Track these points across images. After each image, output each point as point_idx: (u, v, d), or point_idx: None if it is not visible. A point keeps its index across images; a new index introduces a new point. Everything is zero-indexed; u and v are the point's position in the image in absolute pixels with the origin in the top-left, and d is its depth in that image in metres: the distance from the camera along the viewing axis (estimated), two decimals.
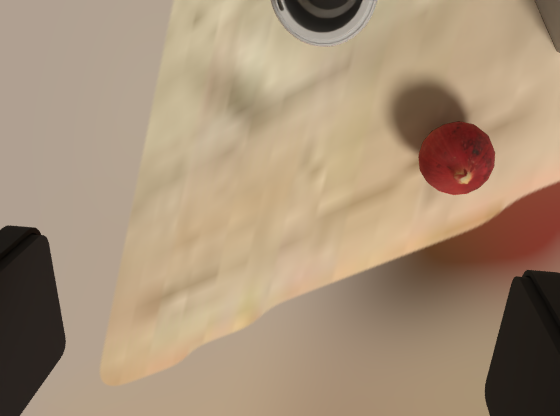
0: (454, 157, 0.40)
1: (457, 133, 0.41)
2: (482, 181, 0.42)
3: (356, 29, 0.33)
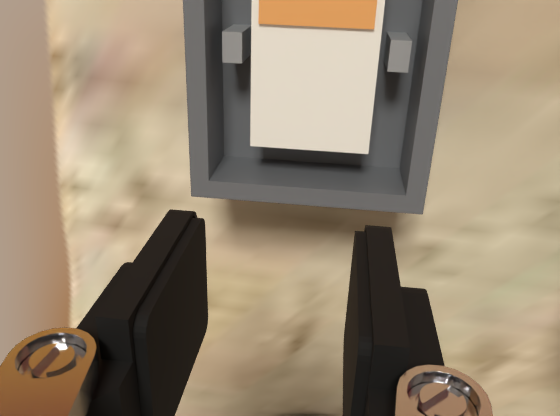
0: None
1: None
2: None
3: None
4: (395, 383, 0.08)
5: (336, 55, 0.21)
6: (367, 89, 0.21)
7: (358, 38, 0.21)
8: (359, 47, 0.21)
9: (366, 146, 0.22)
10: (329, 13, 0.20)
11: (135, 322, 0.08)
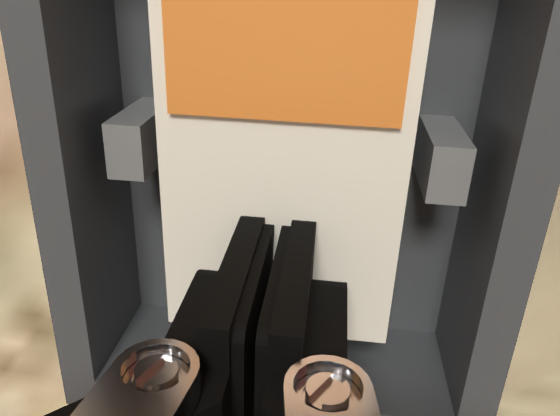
0: None
1: None
2: None
3: None
4: None
5: (324, 174, 0.11)
6: (385, 235, 0.11)
7: (369, 143, 0.10)
8: (370, 160, 0.10)
9: (382, 331, 0.12)
10: (309, 96, 0.10)
11: (232, 332, 0.08)
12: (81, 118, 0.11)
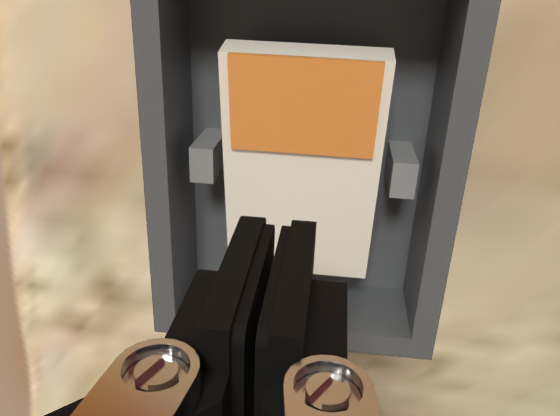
0: None
1: None
2: None
3: None
4: None
5: (326, 182, 0.17)
6: (364, 217, 0.18)
7: (353, 165, 0.17)
8: (354, 175, 0.17)
9: (363, 271, 0.19)
10: (317, 140, 0.16)
11: (232, 333, 0.08)
12: (175, 144, 0.18)
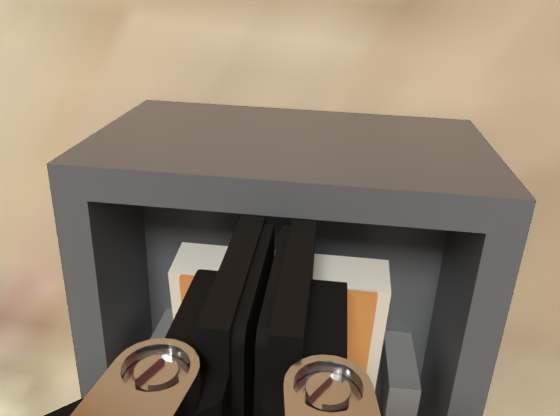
0: None
1: None
2: None
3: None
4: None
5: None
6: None
7: None
8: None
9: None
10: None
11: (232, 333, 0.08)
12: None
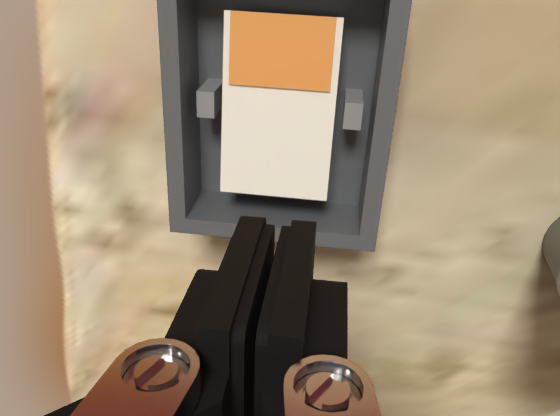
0: None
1: None
2: None
3: None
4: None
5: (297, 113, 0.24)
6: (324, 143, 0.24)
7: (316, 98, 0.23)
8: (317, 106, 0.23)
9: (324, 194, 0.25)
10: (290, 77, 0.23)
11: (232, 332, 0.08)
12: (186, 88, 0.24)
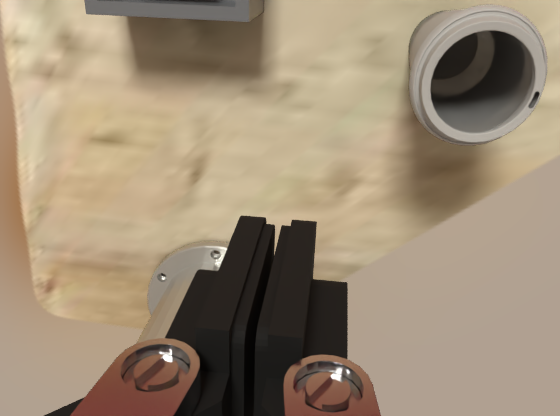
0: None
1: None
2: None
3: (480, 13, 0.26)
4: None
5: None
6: None
7: None
8: None
9: None
10: None
11: (232, 333, 0.08)
12: None
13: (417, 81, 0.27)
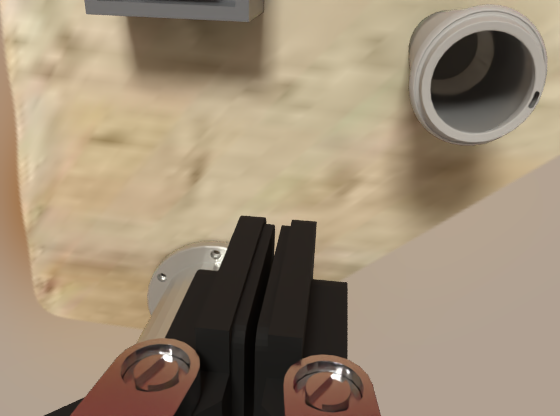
0: None
1: None
2: None
3: (480, 13, 0.26)
4: None
5: None
6: None
7: None
8: None
9: None
10: None
11: (232, 332, 0.08)
12: None
13: (417, 81, 0.27)
